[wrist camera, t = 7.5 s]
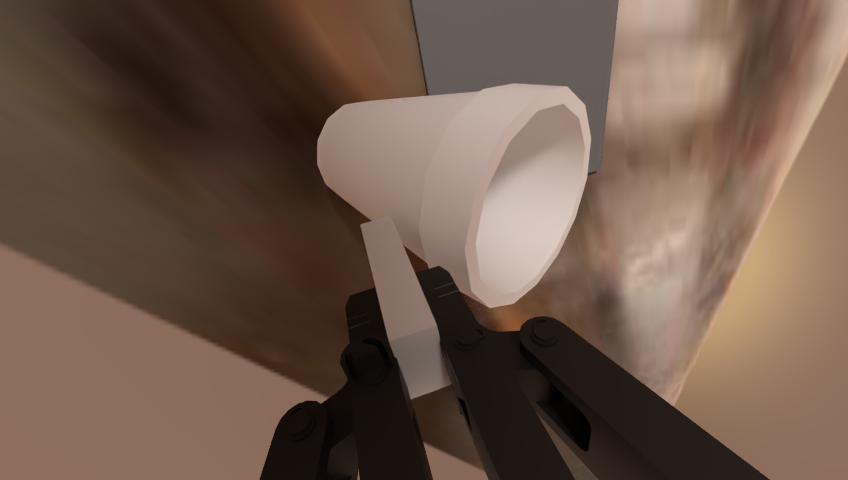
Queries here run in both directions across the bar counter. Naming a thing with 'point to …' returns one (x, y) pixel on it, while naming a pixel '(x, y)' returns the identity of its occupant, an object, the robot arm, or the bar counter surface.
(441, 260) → the foam cup
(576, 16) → the mat
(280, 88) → the bar counter surface
